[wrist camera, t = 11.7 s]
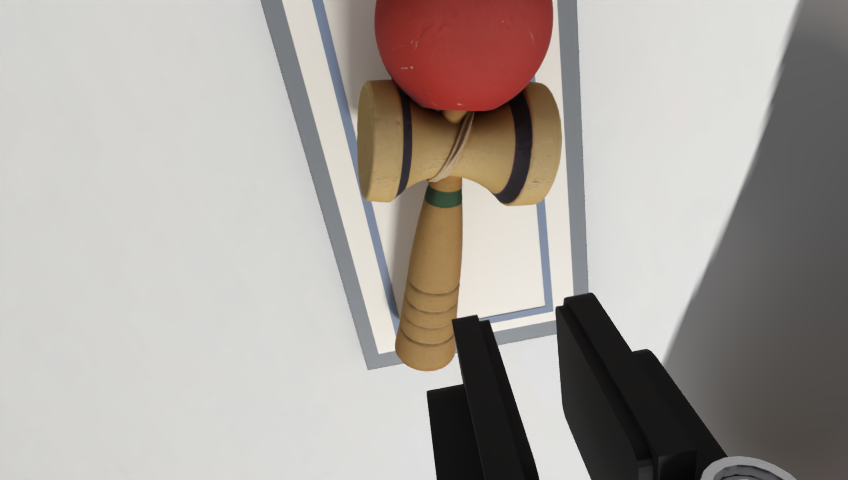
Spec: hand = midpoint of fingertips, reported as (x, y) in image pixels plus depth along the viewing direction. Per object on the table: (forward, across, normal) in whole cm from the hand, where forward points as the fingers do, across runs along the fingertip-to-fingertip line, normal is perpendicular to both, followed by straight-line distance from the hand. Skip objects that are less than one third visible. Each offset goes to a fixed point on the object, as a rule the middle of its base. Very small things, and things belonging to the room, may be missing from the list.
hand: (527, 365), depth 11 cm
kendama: (+14, 0, 0) cm, 14 cm away
